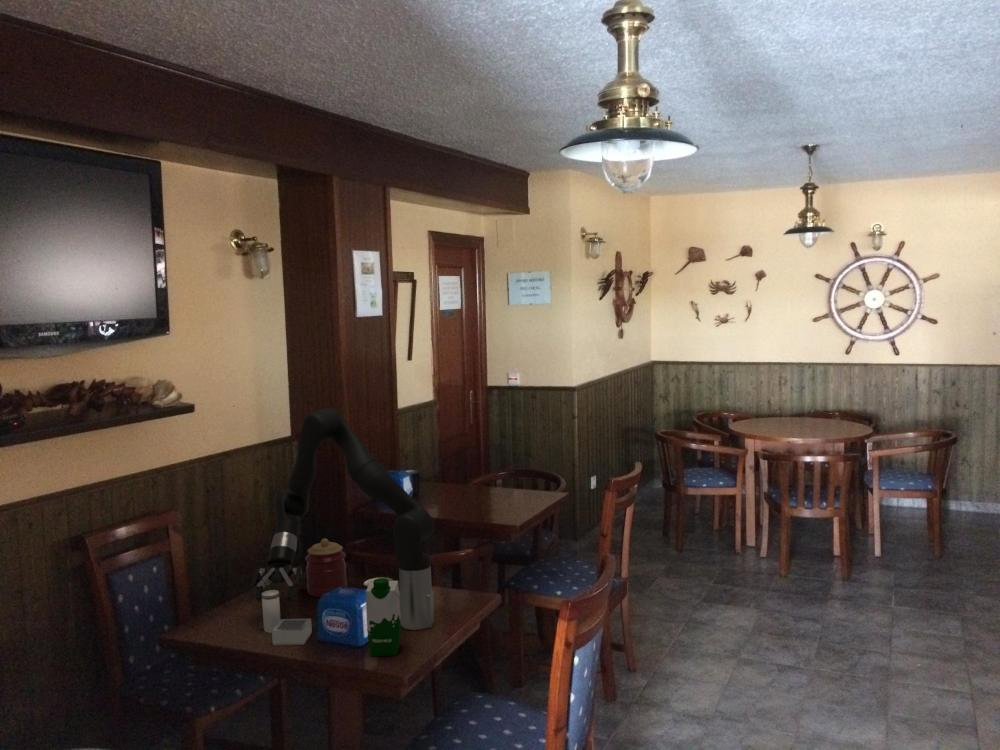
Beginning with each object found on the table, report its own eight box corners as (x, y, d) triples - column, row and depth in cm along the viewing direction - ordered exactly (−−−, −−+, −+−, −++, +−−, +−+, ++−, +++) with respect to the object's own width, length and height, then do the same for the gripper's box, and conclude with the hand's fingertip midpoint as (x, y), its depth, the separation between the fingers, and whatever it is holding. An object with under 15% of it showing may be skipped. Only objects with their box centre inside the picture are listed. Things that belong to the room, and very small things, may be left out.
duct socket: (311, 632, 238) (311, 618, 237) (303, 644, 229) (302, 630, 229) (282, 633, 238) (281, 619, 238) (272, 645, 229) (271, 630, 229)
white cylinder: (283, 626, 243) (281, 589, 242) (278, 632, 238) (276, 595, 237) (266, 626, 243) (264, 590, 242) (261, 633, 238) (259, 595, 238)
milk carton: (366, 658, 219) (362, 584, 217) (371, 644, 228) (368, 573, 226) (399, 656, 219) (396, 582, 217) (403, 643, 228) (400, 571, 226)
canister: (319, 601, 263) (316, 546, 262) (300, 591, 273) (297, 539, 271) (355, 591, 272) (352, 538, 270) (335, 582, 281) (332, 531, 280)
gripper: (256, 545, 250) (245, 595, 240) (303, 544, 249) (294, 594, 239) (263, 557, 256) (252, 606, 245) (308, 556, 255) (300, 605, 245)
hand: (273, 600), depth 242 cm, fingers open, 8 cm apart
